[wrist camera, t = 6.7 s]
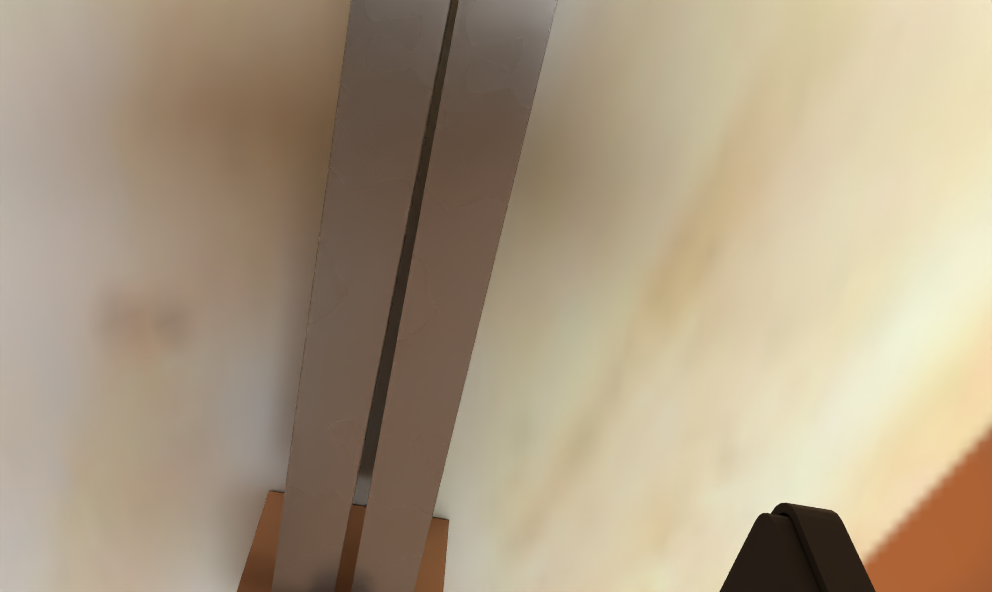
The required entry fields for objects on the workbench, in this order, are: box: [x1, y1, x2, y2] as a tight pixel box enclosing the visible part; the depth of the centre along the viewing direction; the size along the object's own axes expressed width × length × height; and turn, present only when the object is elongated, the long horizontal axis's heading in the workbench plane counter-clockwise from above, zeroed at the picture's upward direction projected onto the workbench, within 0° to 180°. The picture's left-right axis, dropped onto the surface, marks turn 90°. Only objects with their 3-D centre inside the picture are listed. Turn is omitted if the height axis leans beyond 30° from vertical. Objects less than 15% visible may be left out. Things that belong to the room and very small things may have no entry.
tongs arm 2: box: [271, 0, 452, 592], centre depth 16 cm, size 20×1×3 cm, turn 167°
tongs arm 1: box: [351, 0, 557, 592], centre depth 16 cm, size 20×1×3 cm, turn 168°
